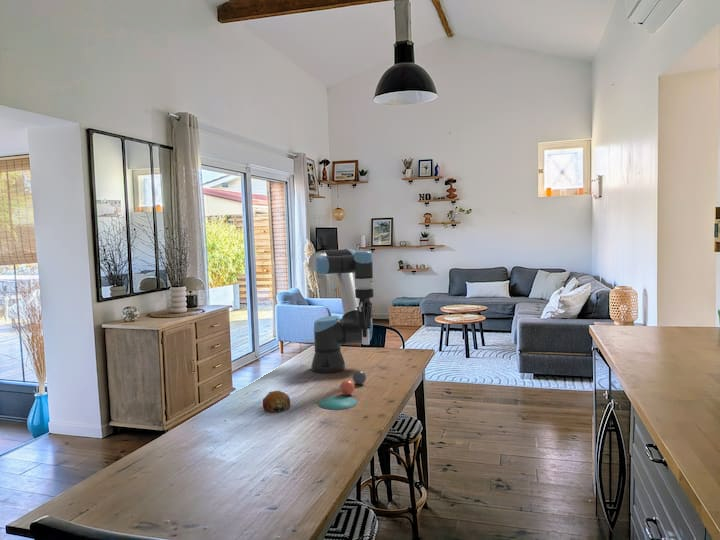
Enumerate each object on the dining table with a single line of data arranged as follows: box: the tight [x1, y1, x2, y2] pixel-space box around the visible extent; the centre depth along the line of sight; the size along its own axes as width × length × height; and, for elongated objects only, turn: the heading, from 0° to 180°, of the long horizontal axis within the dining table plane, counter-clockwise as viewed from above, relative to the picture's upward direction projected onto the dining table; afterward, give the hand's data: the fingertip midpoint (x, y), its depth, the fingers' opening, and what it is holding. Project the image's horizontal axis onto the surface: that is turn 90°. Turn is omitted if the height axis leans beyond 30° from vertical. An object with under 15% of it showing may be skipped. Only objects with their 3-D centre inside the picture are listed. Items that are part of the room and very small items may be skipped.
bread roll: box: [262, 390, 291, 414], centre depth 189 cm, size 10×10×8 cm
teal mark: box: [318, 395, 358, 411], centre depth 192 cm, size 14×14×1 cm
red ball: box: [339, 379, 355, 396], centre depth 201 cm, size 6×6×6 cm
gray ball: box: [352, 370, 367, 385], centre depth 214 cm, size 6×6×6 cm
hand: (365, 344), depth 222 cm, fingers closed
